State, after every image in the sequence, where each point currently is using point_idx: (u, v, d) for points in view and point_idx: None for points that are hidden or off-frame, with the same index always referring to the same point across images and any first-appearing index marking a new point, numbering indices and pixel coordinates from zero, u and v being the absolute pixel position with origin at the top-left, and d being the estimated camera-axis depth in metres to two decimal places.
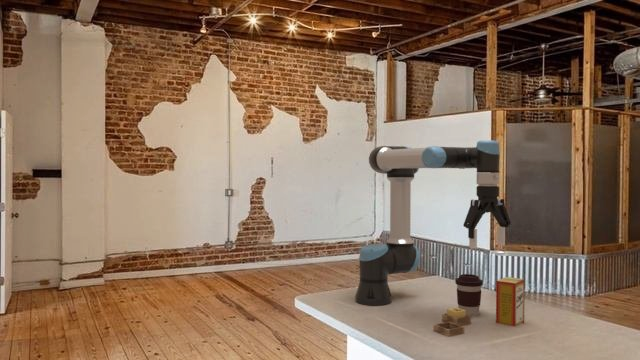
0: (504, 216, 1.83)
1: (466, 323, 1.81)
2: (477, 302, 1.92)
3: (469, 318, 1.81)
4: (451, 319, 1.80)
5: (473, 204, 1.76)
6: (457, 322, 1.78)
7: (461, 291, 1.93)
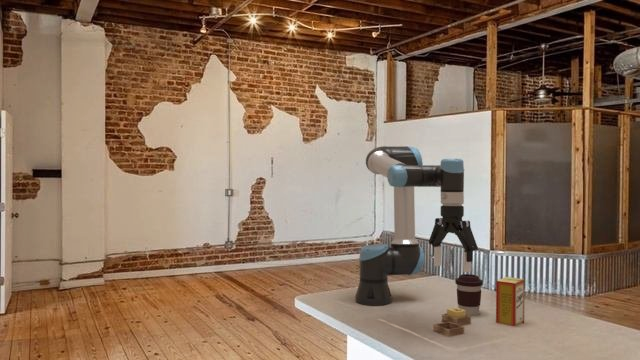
0: None
1: (466, 323, 1.81)
2: (477, 302, 1.92)
3: (469, 318, 1.81)
4: (451, 319, 1.80)
5: None
6: (457, 322, 1.78)
7: (461, 291, 1.93)
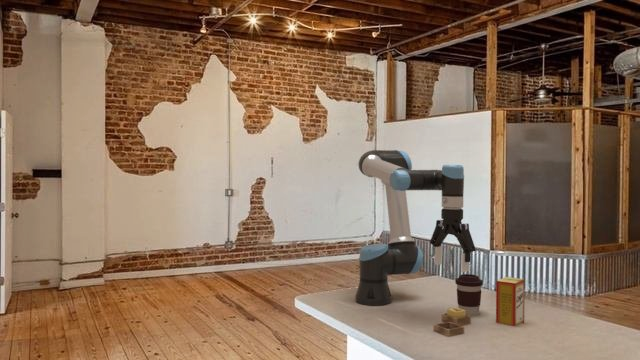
0: None
1: (466, 323, 1.81)
2: (477, 302, 1.92)
3: (469, 318, 1.81)
4: (451, 319, 1.80)
5: None
6: (457, 322, 1.78)
7: (461, 291, 1.93)
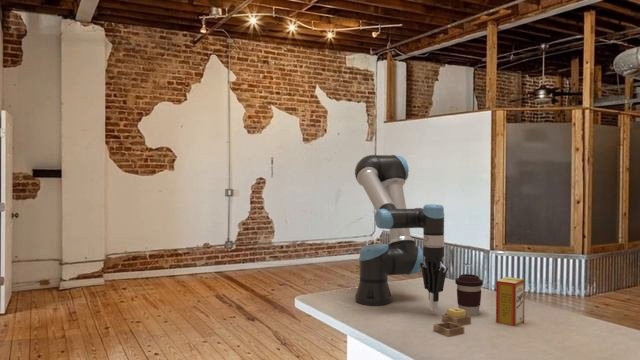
0: None
1: (466, 323, 1.81)
2: (477, 302, 1.92)
3: (469, 318, 1.81)
4: (451, 319, 1.80)
5: None
6: (457, 322, 1.78)
7: (461, 291, 1.93)
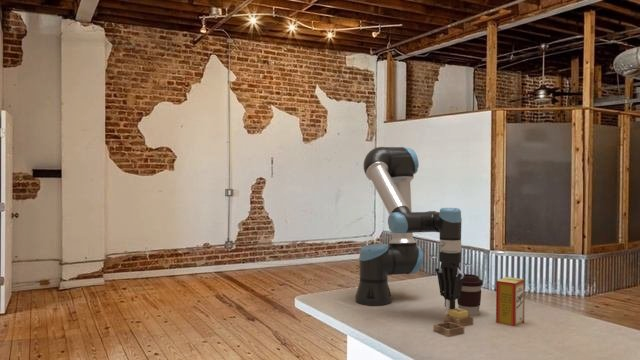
0: None
1: (468, 324, 1.80)
2: (477, 302, 1.92)
3: (471, 319, 1.80)
4: (453, 320, 1.79)
5: None
6: (459, 323, 1.78)
7: (461, 291, 1.93)
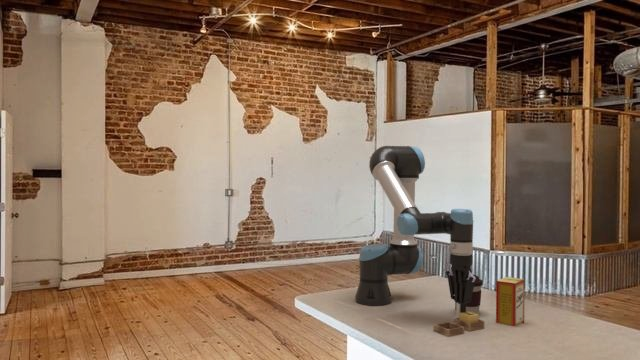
0: None
1: (479, 328, 1.75)
2: (477, 302, 1.92)
3: (483, 322, 1.76)
4: (464, 324, 1.75)
5: None
6: (470, 327, 1.73)
7: None
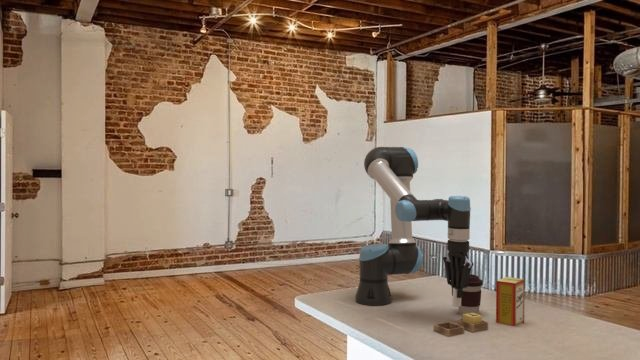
0: None
1: (483, 329, 1.74)
2: (477, 302, 1.92)
3: (486, 324, 1.74)
4: (468, 325, 1.73)
5: None
6: (474, 328, 1.72)
7: None
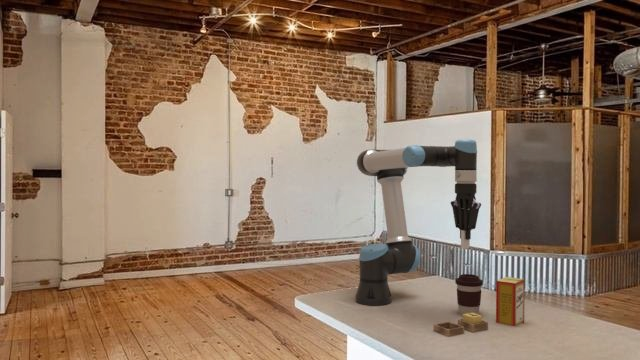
0: None
1: (483, 329, 1.74)
2: (477, 302, 1.92)
3: (486, 324, 1.74)
4: (468, 325, 1.73)
5: None
6: (474, 328, 1.72)
7: (461, 291, 1.93)
